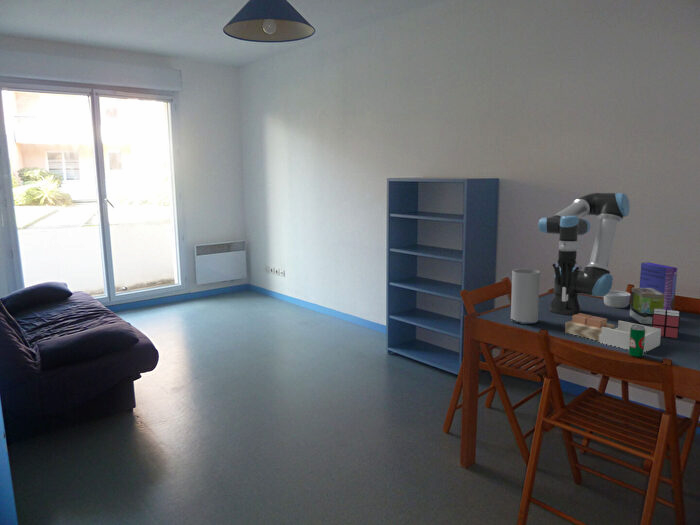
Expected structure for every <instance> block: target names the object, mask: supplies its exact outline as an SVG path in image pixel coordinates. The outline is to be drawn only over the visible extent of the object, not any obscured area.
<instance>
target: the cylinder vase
mask: <svg viewBox="0 0 700 525" xmlns="http://www.w3.org/2000/svg"><path fill="white" fill-rule="evenodd" d="M511 273H512V274H511V301H510V302H511V305H510V307H511V308H510V320H511V319H513V320H516V321H521V322H537V323H538V322H539V299H540V298H539V296H540V274H541V272H540V270H538V269H532V268H531V269H530V268H516V269H513V270H512V271H511Z"/></svg>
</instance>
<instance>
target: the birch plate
mask: <svg viewBox="0 0 700 525" xmlns="http://www.w3.org/2000/svg"><path fill="white" fill-rule="evenodd" d="M604 327H605V328H610V329H615V327H616V326H615V324H612V323H607V325H606V326H604ZM601 331H602V327H601V328H597V327H593V326H588V325H584V324H579V323H575V322H572V320H569V321H566V322H565V326H564V334H566V333H569V334H568V335H570V334H573V335H572V336H574V335H578V336H577V337H579V336H581V337H580V338H583V337H585V338H584V339H587V338H589V339H588V340H591V339H593V340H592V341H595V340H597V341H596V342H599V335H600V334H601Z"/></svg>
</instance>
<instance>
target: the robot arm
mask: <svg viewBox="0 0 700 525" xmlns="http://www.w3.org/2000/svg"><path fill="white" fill-rule="evenodd" d="M629 214H630V199H629V197H628V195H627V194H626V193H621V192H592V193H588V194H585V195H582V196H581V197H579V198H576V199H574V200H573V201H572V203H571V204H570V205H569V206H567V207H565V208H564V209H562V210H560V211H559V212H556V214H554V215H552V216H551V217H541V218H540V219H539V220H538V224H537V225H538V226H537V227H538V231H539V233H543V234H551V235H552V234H553V235H559V239H558V241H559V242H558V249H559V250H558V255H557V256H558V260H557V262H555V263H553V264H552V267H553V269H554V282H553V283H554V284H553V297H552V299H551V302H550V304H549V311H550V312H551V313H555V314H558V315H559V314H560V315H575V314H578V313H581V312H582V306H581V303H580V300H579V294H580V295H587V296H593V297H604V296H605V295H607V294H608V292H609V291H611V289H612V285H613V280H614V279H613V275H612V274H611V271H610V269H609V268H608V267H609V263H610V259H611V255H612V250H613V246H614V242H615V238H616V235H617V234H616V233H617V230H618V225H619V224H620V223H621V222H622V221H623V219H624V217H628V215H629ZM586 216H597V219H598V221H599V222H598V226H597V229H596V234H595V239H594V243H593V246H592V250H591V254H590V259H589V262H588V264H587V265H586V266H585V267H584V269H583V270H582V266H580V265H578V264H577V252H578V251H577V249H578V236H583V235H586V234H587V233H589V232H590V230H591V223H590V222H589V220H587V219H586V218H584V217H586ZM582 217H583V218H582ZM581 314H582V313H581Z"/></svg>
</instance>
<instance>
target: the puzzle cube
mask: <svg viewBox="0 0 700 525" xmlns="http://www.w3.org/2000/svg"><path fill="white" fill-rule="evenodd" d="M680 320H681V314H680V311H678V310H674V311H672V310H667V311H666V310H662V309H653V317H652V324H651V327H654V328H659V329H661V338H668V337H670V338H669V339H676V338H678V339H679V333H680V332H679V331H680Z"/></svg>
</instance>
